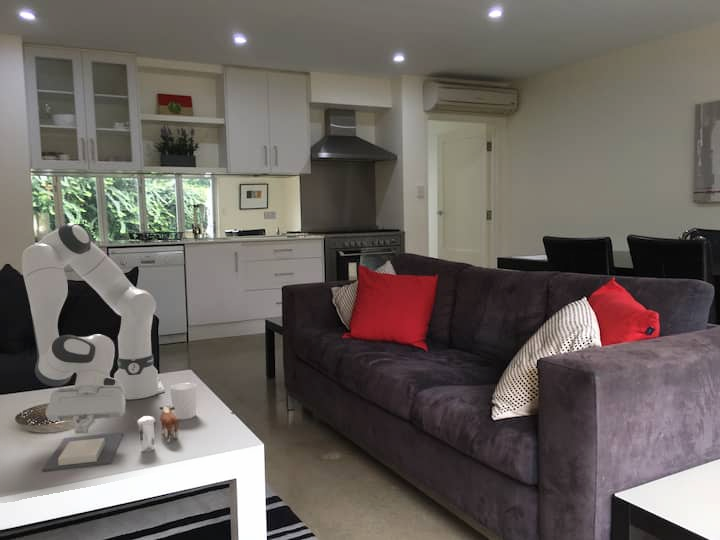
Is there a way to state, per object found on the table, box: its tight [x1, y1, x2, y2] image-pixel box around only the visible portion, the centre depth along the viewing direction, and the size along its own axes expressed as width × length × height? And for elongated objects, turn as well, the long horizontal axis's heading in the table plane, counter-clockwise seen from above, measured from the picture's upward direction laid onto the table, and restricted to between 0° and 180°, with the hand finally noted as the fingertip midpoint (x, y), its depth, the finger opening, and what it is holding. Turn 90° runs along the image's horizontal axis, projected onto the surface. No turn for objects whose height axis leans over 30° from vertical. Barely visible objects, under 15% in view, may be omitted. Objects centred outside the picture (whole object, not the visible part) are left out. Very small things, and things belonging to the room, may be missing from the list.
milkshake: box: [134, 415, 156, 453], centre depth 158 cm, size 4×5×10 cm
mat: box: [42, 431, 124, 472], centre depth 159 cm, size 22×16×1 cm
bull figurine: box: [159, 403, 180, 444], centre depth 168 cm, size 4×13×8 cm, turn 25°
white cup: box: [170, 382, 197, 421], centre depth 186 cm, size 8×8×10 cm
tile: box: [58, 438, 105, 466], centre depth 155 cm, size 2×9×12 cm
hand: (80, 432), depth 157 cm, fingers closed
